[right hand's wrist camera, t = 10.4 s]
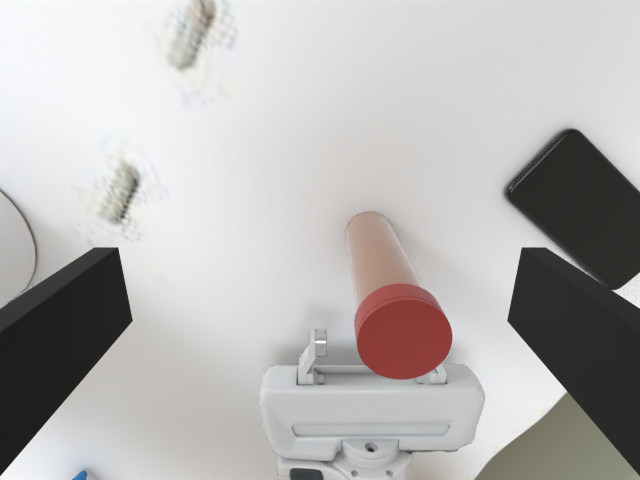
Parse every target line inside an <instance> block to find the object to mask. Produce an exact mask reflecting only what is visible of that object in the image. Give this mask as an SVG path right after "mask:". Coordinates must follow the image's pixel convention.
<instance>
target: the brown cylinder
mask: <svg viewBox="0 0 640 480" xmlns="http://www.w3.org/2000/svg"><path fill="white" fill-rule="evenodd" d="M345 239H346V245H347V252H348V258H349V264H350V270H351V277H352V283H353V289H354V296H355V302H356V308H357V310H358V308H359V306H360V304H361V303H362V301H363V300H364V299H365V298H366V297H367V296H368V295H369V294H371V293H372V292H374V291H375V290H377V289H379V288H381V287H384V286H386V285H391V284H398V283H404V284H411V285H415V286H418V287H421V288H423V289H424V287H423V285H422V283H421V281H420V279H419V277H418V275H417V274H416V272H415V270H414V268H413V266H412V264H411V262H410V260H409V259H408V257H407V255H406V253H405V251H404V249H403V247H402V245H401V244H400V242H399V240H398V238H397V236H396V234H395V232H394V231H393V229H392V227H391V225H390V223H389V221H388V220H387V219H386V218H385V217H384V216H382V215H380V214H378V213H375V212H365V213H361V214H359V215H357V216H355V217H354V218H353V219H352V220H351V221H350V222H349V224H348V225H347V228H346V231H345ZM424 290H425V289H424Z"/></svg>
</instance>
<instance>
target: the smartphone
mask: <svg viewBox="0 0 640 480" xmlns="http://www.w3.org/2000/svg"><path fill="white" fill-rule="evenodd" d="M506 198H507V199H508V201H509V202H510V203H511V204H512V205H513V206H514V207H516V208H517V209H518V210H519V211H520V212H521V213H522V214H523V215H524V216H526V217H527V218H528V219H529V220H530V221H531V222H532V223H533V224H534V225H536V226H537V227H538V228H539V229H540V230H541V231H542V232H543V233H544V234H546V235H547V236H548V237H549V238H550V239H551V240H552V241H553V242H554V243H556V244H557V245H558V246H559V247H560V248H561V249H562V250H563V251H564V252H566V253H567V254H568V255H569V256H570V257H571V258H572V259H573V260H574V261H576V263H577V264H578V265H579V266H581V267H582V268H583V269H584V270H585V271H586V272H588V273H589V274H590V275H591V276H592V277H593V278H594V279H596V280H597V281H598V282H599V283H601V284H602V285H604V286H606V287H607V288H609V289H610V290H617V289H619V288H621V287H622V286H624V285H625V284H626V283H627V282H629V281H630V280H631V279H632V278H634V277H635V276H636V275H637V274H638V273H640V191H639V190H638V189H637V188H636V187H635V186H634V185H633V184H632V183H631V182H630V181H629V180H628V179H627V178H626V177H625V176H624V175H623V174H622V173H621V172H620V171H619V170H618V169H617V168H616V167H615V166H614V165H613V164H612V163H611V162H610V161H609V160H608V159H607V158H606V157H605V156H604V155H603V154H602V153H601V152H600V151H599V150H598V149H597V148H596V147H595V146H594V145H593V144H592V143H591V142H590V141H589V140H588V139H587V138H586V137H585V136H584V135H583V134H582V133H581V132H580V131H579V130H577V129H567V130H564V131H563V132H561V133H560V134H559V135H558V136H557V137H556V138H555V139H554V140H553V141H552V142H551V143H550V144H549V145H548V146H547V147H546V148H545V149H544V150H543V151H542V152H541V153H540V154H539V155H538V156H537V157H536V158H535V159H534V160H533V161H532V162H531V163H530V164H529V165H528V166H527V167H526V168H525V169H524V170H523V171H522V172H521V173H520V174H519V175H518V176H517V177H516V178H515V179H514V180H513V182H512V183H511V184H510V185H509V186H508V187H507V189H506Z"/></svg>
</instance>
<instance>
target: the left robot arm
mask: <svg viewBox="0 0 640 480" xmlns="http://www.w3.org/2000/svg"><path fill="white" fill-rule="evenodd" d="M35 261H36V254H35V246H34V242H33V238H32V235H31V233H30V230H29V228H28V226H27V224H26V222H25V220H24V218H23V217H22V215H21V214H20V212H19V211H18V210H17V208H16V207H15V206H14V205H13V204H12V202H11V201H10V200H9V199H8V198H7V197H6V196H5V195H4V194H3V193H2V192H0V309H1V308H2V307H4V306H5V305H6V304H7V303H8V302H9V301H10V300H12V299H13V298H14V297H16V296H17V295H18V294H20V293H21V292H22V291H23V290H24V289H25V288H26V286H27V285H28V283H29V282H30V280H31V278H32V276H33V273H34V269H35ZM317 356H326V329H310V342H309V345H308V346H307V348H306V349H305V350H304V352H303V353H302V355H301V356H300V358H299V365H274V366H271V367H270V368H268V370H267V371H266V372H265V373H264V375H263V377H262V381H261V385H260V391H259V407H260V414H261V419H262V424H263V429H264V432H265V436H266V439H267V442H268V444H269V446H270V448H271V449H272V450H273V451H274V452H275V453H276V454H277V455H278V456H277V469H278V477H279V478H280V479H281V480H410V475H411V465H412V456H413V452H434V451H444V452H455V451H457V450H458V448H461V447H463V446H465V445H467V444H470V443H472V441H473V439H474V436H475V430H476V426H477V424H478V421H479V418H480V415H481V412H482V409H483V405H484V401H485V394H484V391H483V388H482V386H481V384H480V382H479V380H478V379H477V377H476V376H475V374H474V373H473V372H472V371H471V369H470V368H469V367H468V366H466V365H462V364H454V365H443V363H441V364H440V365H439V366H438V367H436V368H435V369H434V370H432V371H431V372H429V373H427V374H425V375H423V376H420V377H417V378H413V379H406V380H397V379H390V378H386V377H383V376H381V375H378V374H376V373H375V372H373V371H372V370H371V369H369V368H368V367H367V366H366V365H314V361H315V359H316V358H317Z"/></svg>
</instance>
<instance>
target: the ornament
mask: <svg viewBox="0 0 640 480" xmlns="http://www.w3.org/2000/svg"><path fill="white" fill-rule="evenodd" d="M86 477H87V472H85V471H82V472H80V473H79V474H78V475H77V476H76V477H75V478H74V479H72V480H86Z"/></svg>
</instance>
